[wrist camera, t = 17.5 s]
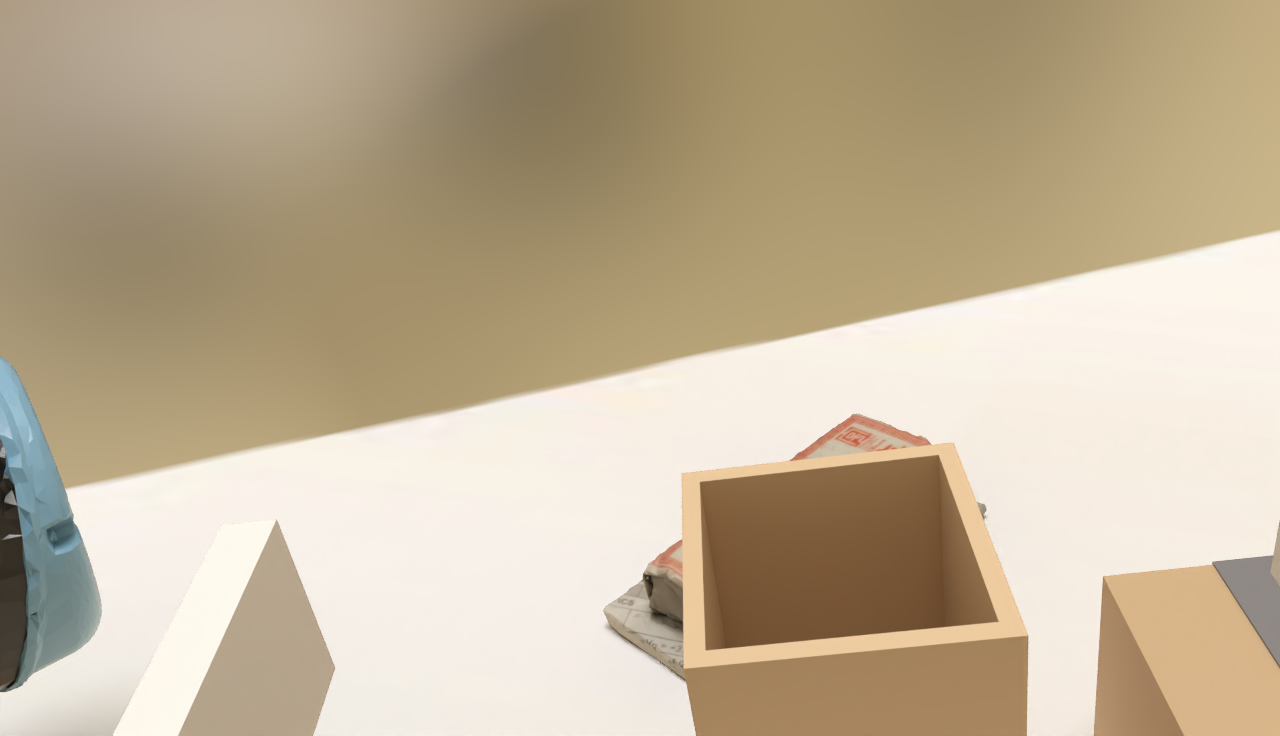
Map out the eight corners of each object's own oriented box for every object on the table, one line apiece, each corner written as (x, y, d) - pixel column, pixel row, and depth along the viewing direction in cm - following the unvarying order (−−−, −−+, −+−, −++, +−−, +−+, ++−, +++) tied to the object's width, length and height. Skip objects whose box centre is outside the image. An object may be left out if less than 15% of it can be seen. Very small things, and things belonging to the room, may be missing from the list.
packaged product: (830, 389, 63) (987, 446, 56) (835, 460, 65) (987, 523, 58) (587, 558, 53) (741, 652, 46) (605, 634, 56) (753, 734, 49)
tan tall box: (749, 1014, 38) (683, 668, 30) (736, 793, 46) (681, 473, 38) (1022, 997, 37) (1028, 635, 29) (961, 774, 45) (953, 442, 37)
